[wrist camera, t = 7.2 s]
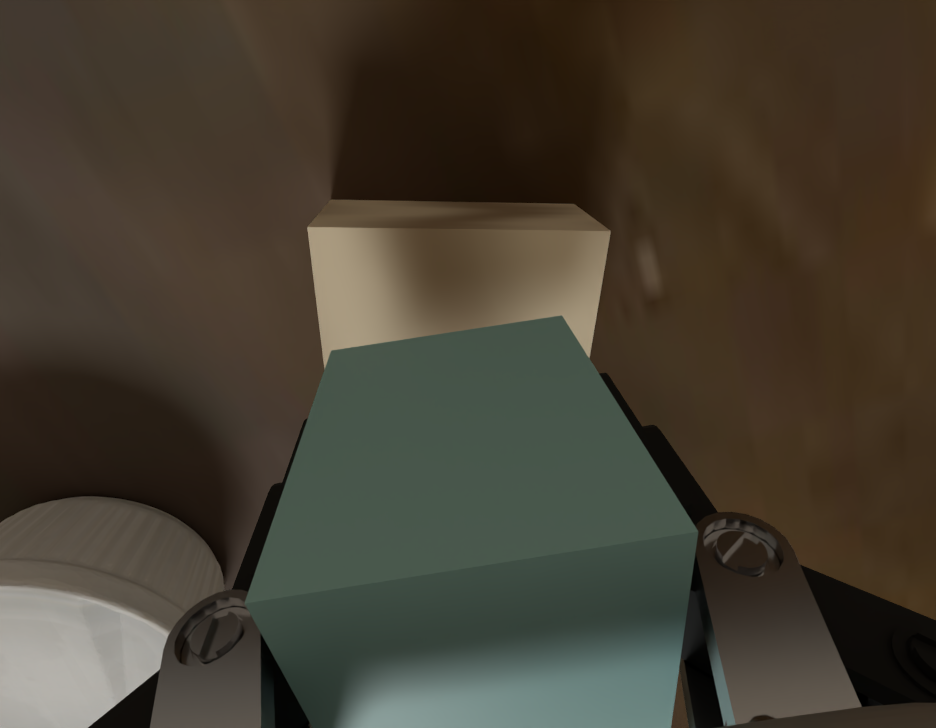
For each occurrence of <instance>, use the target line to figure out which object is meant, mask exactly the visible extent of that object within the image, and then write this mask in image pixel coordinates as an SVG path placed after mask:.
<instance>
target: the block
mask: <svg viewBox="0 0 936 728" xmlns="http://www.w3.org/2000/svg"><path fill="white" fill-rule="evenodd" d="M697 538H698V530H697V529H696V527H695V525H694V524H693V522H692V521H691V519H690V518H689V516H688V514H687V513H686V511H685V510H684V508H683V506H682V505H681V503H680V502H679V500H678V498H677V497H676V495H675V494H674V492H673V491H672V489H671V487H670V486H669V484H668V483H667V481H666V479H665V478H664V476H663V475H662V473H661V472H660V470H659V468H658V467H657V465H656V464H655V462H654V460H653V459H652V457H651V456H650V454H649V453H648V451H647V449H646V448H645V446H644V445H643V443H642V441H641V440H640V438H639V437H638V435H637V433H636V432H635V430H634V429H633V427H632V426H631V424H630V422H629V421H628V419H627V418H626V416H625V414H624V413H623V411H622V410H621V408H620V407H619V405H618V403H617V402H616V400H615V399H614V397H613V395H612V394H611V392H610V391H609V389H608V387H607V386H606V384H605V383H604V381H603V380H602V378H601V376H600V375H599V373H598V372H597V370H596V368H595V367H594V365H593V364H592V362H591V361H590V359H589V357H588V356H587V354H586V353H585V351H584V349H583V348H582V346H581V345H580V343H579V341H578V340H577V338H576V337H575V335H574V334H573V332H572V330H571V329H570V327H569V326H568V324H567V322H566V321H565V319H564V318H563V316H562V315H561V316H554V317H548V318H541V319H535V320H528V321H521V322H515V323H508V324H502V325H495V326H489V327H482V328H476V329H469V330H463V331H456V332H449V333H443V334H436V335H430V336H423V337H417V338H410V339H404V340H397V341H390V342H384V343H377V344H371V345H364V346H358V347H351V348H345V349H338V350H332V351H331V353H330V355H329V358H328V361H327V364H326V367H325V370H324V373H323V376H322V379H321V382H320V385H319V388H318V390H317V393H316V396H315V399H314V402H313V405H312V408H311V411H310V414H309V417H308V420H307V423H306V425H305V428H304V431H303V434H302V437H301V440H300V443H299V446H298V449H297V452H296V455H295V457H294V460H293V463H292V466H291V469H290V472H289V475H288V478H287V481H286V484H285V487H284V490H283V492H282V495H281V498H280V501H279V504H278V507H277V510H276V513H275V516H274V519H273V522H272V525H271V527H270V530H269V533H268V536H267V539H266V542H265V545H264V548H263V551H262V554H261V557H260V560H259V562H258V565H257V568H256V571H255V574H254V577H253V580H252V583H251V586H250V589H249V592H248V595H247V597H246V600H245V605H246V607H247V609H248V611H249V613H250V614H251V616H252V618H253V620H254V622H255V623H256V625H257V627H258V629H259V631H260V633H261V634H262V636H263V638H264V640H265V642H266V643H267V645H268V647H269V649H270V651H271V653H272V654H273V656H274V658H275V660H276V662H277V664H278V665H279V667H280V669H281V671H282V673H283V674H284V676H285V678H286V680H287V682H288V684H289V685H290V687H291V689H292V691H293V693H294V694H295V696H296V698H297V700H298V702H299V704H300V705H301V707H302V709H303V711H304V713H305V714H306V716H307V718H308V720H309V722H310V724H311V725H312V727H313V728H671V722H672V715H673V708H674V701H675V694H676V687H677V680H678V673H679V665H680V658H681V651H682V644H683V637H684V630H685V623H686V616H687V609H688V602H689V594H690V587H691V580H692V573H693V566H694V559H695V552H696V545H697Z"/></svg>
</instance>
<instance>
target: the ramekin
mask: <svg viewBox="0 0 936 728" xmlns="http://www.w3.org/2000/svg"><path fill="white" fill-rule="evenodd" d="M222 591H224V583H223V574H222V572H221V567H220V565H219V563H218V562H217V560H216V558H215V556H214V554H213V552H212V550H211V549H210V547H209V546H208V545H207V543H206V542H205V541H204V540H203V539H202V538H201V537H200V536H199V535H198V534H197V533H196V532H195V531H194V530H193V529H191V528H190V527H189V526H187V525H186V524H185V523H183V522H182V521H180V520H179V519H177V518H175V517H174V516H172V515H170V514H168V513H166V512H163V511H161V510H159V509H156V508H154V507H151V506H148V505H145V504H142V503H138V502H134V501H129V500H125V499H118V498H110V497H98V496H83V497H72V498H65V499H60V500H53V501H49V502H46V503H41V504H37V505H34V506H32V507H30V508H27V509H24V510H21V511H20V512H18V513H16V514H14V515H13V516H10V517H8V518H7V519H5V520H4V521H2V522H1V523H0V728H88V727H89V726H91V725H92V724H93V723H94V722H95V721H97V720H98V719H99V718H100V717H102V716H103V715H104V714H105V713H107V712H108V711H109V710H110V709H111V708H113V707H114V706H115V705H116V704H118V703H119V702H120V701H121V700H123V699H124V698H125V697H126V696H128V695H129V694H130V693H131V692H132V691H134V690H135V689H136V688H137V687H139V686H140V685H141V684H142V683H144V682H145V681H146V680H147V679H149V678H150V677H151V676H152V675H153V674H155V673H156V672H157V671H158V670H160V666H161V661H162V655H163V649H164V646H165V643H166V640H167V637H168V635H169V634H170V632H171V630H172V629H173V627H174V626H175V624H176V623H177V621H178V620H179V619H180V618H181V617H182V616H183V615H184V614H185V613H186V612H187V611H188V610H189V609H190V608H192V607H193V606H195V605H196V604H197V603H199V602H200V601H201V600H203V599H205V598H207V597H209V596H211V595H213V594H215V593H218V592H222Z"/></svg>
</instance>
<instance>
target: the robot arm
mask: <svg viewBox="0 0 936 728" xmlns="http://www.w3.org/2000/svg"><path fill="white" fill-rule="evenodd" d="M599 375H600V376H601V378H602V380H603V381H604V383H605V384H606V386H607V387H608V389H609V391H610V392H611V394H612V395H613V397H614V399H615V400H616V402H617V403H618V405H619V407H620V408H621V410H622V411H623V413H624V414H625V416H626V418H627V419H628V421H629V422H630V424H631V426H632V427H633V429H634V430H635V432H636V433H637V435H638V437H639V438H640V440H641V441H642V443H643V445H644V446H645V448H646V449H647V451H648V453H649V454H650V456H651V457H652V459H653V460H654V462H655V464H656V465H657V467H658V468H659V470H660V472H661V473H662V475H663V476H664V478H665V479H666V481H667V483H668V484H669V486H670V487H671V489H672V491H673V492H674V494H675V495H676V497H677V498H678V500H679V502H680V503H681V505H682V506H683V508H684V510H685V511H686V513H687V514H688V516H689V518H690V519H691V521H692V522H693V524H694V525H695V527H696V529H697V530H698V538H697V545H696V552H695V559H694V566H693V573H692V580H691V587H690V594H689V602H688V609H687V616H686V623H685V630H684V637H683V644H682V651H681V658H680V665H679V669H680V675H681V681H682V687H683V693H684V700H685V706H686V712H687V718H688V724H689V728H936V620H933V619H931V618H928V617H926V616H923V615H921V614H919V613H916V612H914V611H911V610H909V609H906V608H904V607H902V606H899V605H897V604H894V603H892V602H889V601H887V600H885V599H882V598H880V597H877V596H875V595H872V594H870V593H868V592H865V591H863V590H860V589H858V588H855V587H853V586H851V585H848V584H846V583H843V582H841V581H838V580H836V579H834V578H831V577H829V576H826V575H824V574H821V573H819V572H817V571H814V570H812V569H809V568H807V567H804V566H802V565H800V564H799V561H798V559H797V557H796V555H795V552H794V550H793V548H792V547H791V545H790V544H789V542H788V540H787V539H786V537H784V536H783V535H782V534H781V533H780V532H779V531H778V530H777V529H776V528H775V527H773V526H771V525H769V524H768V523H766V522H764V521H763V520H761V519H758V518H755V517H753V516H750V515H747V514H742V513H736V512H717V510H716V509H715V508H714V506H713V505H712V503H711V502H710V500H709V499H708V498H707V496H706V495H705V493H704V492H703V490H702V489H701V488H700V486H699V485H698V483H697V482H696V481H695V479H694V478H693V476H692V475H691V473H690V472H689V471H688V469H687V468H686V466H685V465H684V463H683V462H682V461H681V459H680V458H679V456H678V455H677V454H676V452H675V451H674V449H673V448H672V446H671V445H670V444H669V442H668V441H667V439H666V438H665V436H664V435H663V434H662V432H661V431H660V430H659V429H658V427H657V426H654V425H649V426H641V424H640V423H639V421H638V420H637V418H636V416H635V415H634V413H633V412H632V410H631V409H630V407H629V406H628V404H627V403H626V401H625V400H624V398H623V397H622V395H621V394H620V392H619V391H618V389H617V388H616V386H615V385H614V383H613V381H612V380H611V378H610V377H609V375H608V374H607V373H600V374H599ZM307 420H308V419H305V421H304V422H303V425H302V428H301V431H300V434H299V437H298V440H297V442H296V445H295V448H294V451H293V454H292V457H291V459H290V462H289V465H288V468H287V471H286V474H285V477H284V479H283V482H282V483H277V484H274V485H273V486H272V487H271V489H270V491H269V493H268V495H267V498H266V501H265V503H264V506H263V509H262V511H261V514H260V516H259V519H258V522H257V524H256V527H255V530H254V532H253V535H252V538H251V540H250V543H249V546H248V548H247V551H246V554H245V556H244V559H243V562H242V564H241V567H240V570H239V572H238V575H237V578H236V580H235V583H234V586H233V588H232V590H226V591H222V592H218V593H215V594H213V595H211V596H209V597H207V598H205V599H203V600H201V601H200V602H199V603H197V604H196V605H195V606H193V607H192V608H190V609H189V610H188V611H187V612H186V613H185V614H184V615H183V616H182V617H181V618H180V619H179V620H178V621H177V623H176V624H175V626H174V627H173V629H172V630H171V632H170V634H169V635H168V637H167V640H166V643H165V646H164V649H163V655H162V661H161V666H160V670H158V671H157V672H156V673H155V674H153V675H152V676H151V677H150V678H149V679H147V680H146V681H145V682H144V683H142V684H141V685H140V686H139V687H137V688H136V689H135V690H134V691H132V692H131V693H130V694H129V695H128V696H126V697H125V698H124V699H123V700H121V701H120V702H119V703H118V704H116V705H115V706H114V707H113V708H111V709H110V710H109V711H108V712H107V713H105V714H104V715H103V716H102V717H100V718H99V719H98V720H97V721H95V722H94V723H93V724H92V725H91V726H89V727H88V728H313V727H312V725H311V724H310V722H309V720H308V718H307V716H306V714H305V713H304V711H303V709H302V707H301V705H300V704H299V702H298V700H297V698H296V696H295V694H294V693H293V691H292V689H291V687H290V685H289V684H288V682H287V680H286V678H285V676H284V674H283V673H282V671H281V669H280V667H279V665H278V664H277V662H276V660H275V658H274V656H273V654H272V653H271V651H270V649H269V647H268V645H267V643H266V642H265V640H264V638H263V636H262V634H261V633H260V631H259V629H258V627H257V625H256V623H255V622H254V620H253V618H252V616H251V614H250V613H249V611H248V609H247V607H246V605H245V600H246V597H247V595H248V592H249V589H250V586H251V583H252V580H253V577H254V574H255V571H256V568H257V565H258V562H259V560H260V557H261V554H262V551H263V548H264V545H265V542H266V539H267V536H268V533H269V530H270V527H271V525H272V522H273V519H274V516H275V513H276V510H277V507H278V504H279V501H280V498H281V495H282V492H283V490H284V487H285V484H286V481H287V478H288V475H289V472H290V469H291V466H292V463H293V460H294V457H295V455H296V452H297V449H298V446H299V443H300V440H301V437H302V434H303V431H304V428H305V425H306V423H307Z"/></svg>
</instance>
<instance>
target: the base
mask: <svg viewBox="0 0 936 728" xmlns="http://www.w3.org/2000/svg"><path fill="white" fill-rule="evenodd" d="M307 228H308V236H309V245H310V253H311V261H312V270H313V278H314V286H315V294H316V303H317V311H318V319H319V327H320V336H321V344H322V352H323V360H324V369H325V367H326V364H327V361H328V358H329V355H330V353H331V351H332V350H338V349H345V348H351V347H358V346H364V345H371V344H377V343H384V342H390V341H397V340H404V339H410V338H417V337H423V336H430V335H436V334H443V333H449V332H456V331H463V330H469V329H476V328H482V327H489V326H495V325H502V324H508V323H515V322H521V321H528V320H535V319H541V318H548V317H554V316H561V315H562V316H563V318H564V319H565V321H566V322H567V324H568V326H569V327H570V329H571V330H572V332H573V334H574V335H575V337H576V338H577V340H578V341H579V343H580V345H581V346H582V348H583V349H584V351H585V353H586V354H587V356H588V357H589V358H590V352H591V346H592V340H593V334H594V328H595V322H596V316H597V310H598V304H599V298H600V292H601V286H602V280H603V274H604V268H605V262H606V257H607V251H608V245H609V239H610V233H611V231H610V230H609V229H607V228H606V227H605V226H603V225H602V224H601V223H599V222H598V221H596V220H595V219H594V218H592V217H591V216H590V215H588V214H587V213H586V212H584V211H583V210H582V209H580V208H579V207H578V206H576V205H575V204H550V203H495V202H440V201H385V200H330V201H329V202H328V204H327V205H326V206H325V207H324V208H323V209H322V211H321V212H320V213H319V214H318V215H317V216H316V218H315V219H314V220H313V221H312V222H311V223H310V225H309V226H308V227H307Z"/></svg>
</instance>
